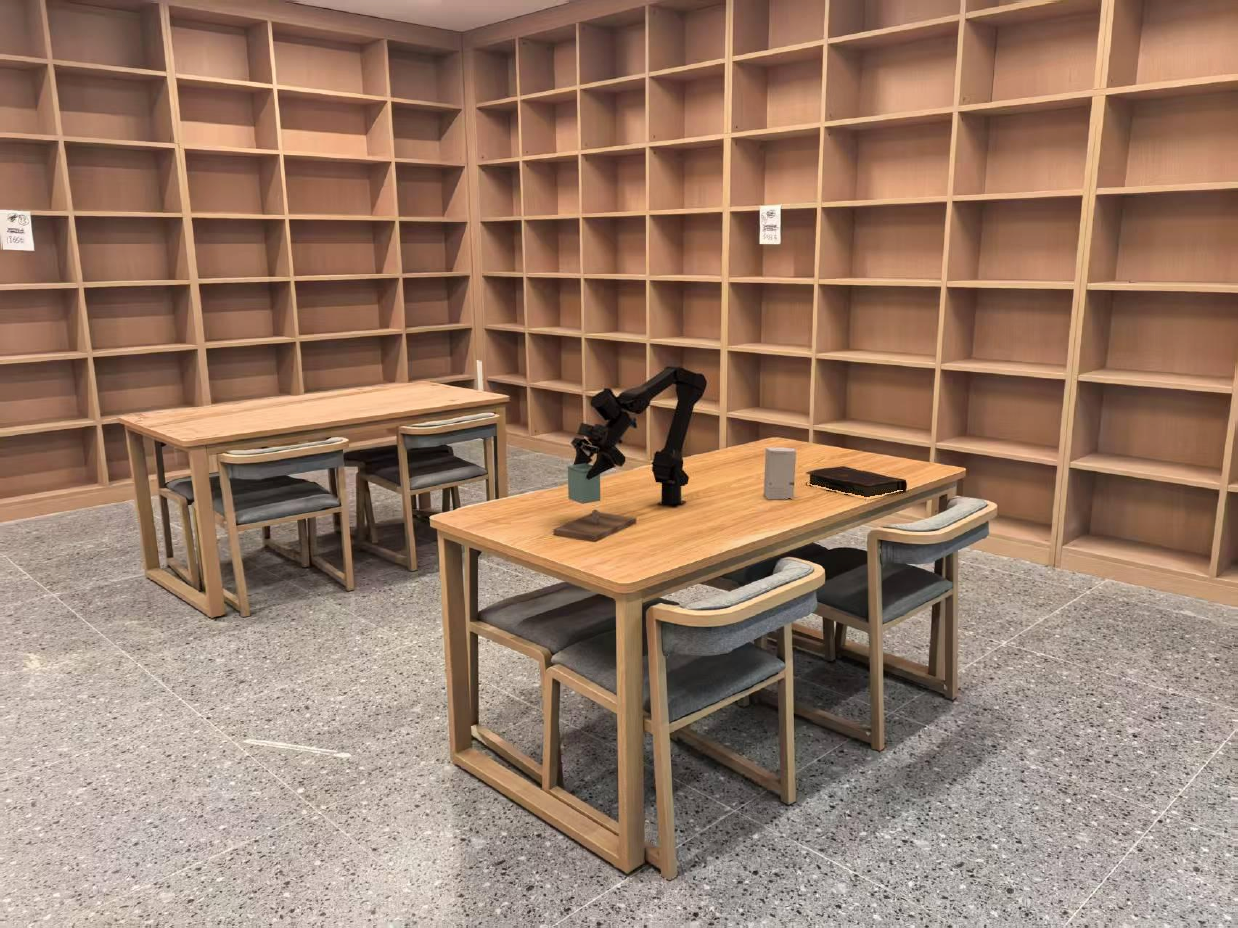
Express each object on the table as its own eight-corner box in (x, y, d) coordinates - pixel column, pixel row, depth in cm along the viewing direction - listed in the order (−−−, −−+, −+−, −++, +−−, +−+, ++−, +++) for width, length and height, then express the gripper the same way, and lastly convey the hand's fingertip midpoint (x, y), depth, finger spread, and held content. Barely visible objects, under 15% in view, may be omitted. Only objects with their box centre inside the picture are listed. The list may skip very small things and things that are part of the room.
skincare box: (766, 500, 273) (768, 450, 270) (763, 495, 279) (764, 446, 276) (795, 499, 274) (796, 450, 271) (790, 494, 280) (792, 446, 277)
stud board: (595, 517, 256) (595, 498, 255) (636, 523, 250) (635, 504, 249) (553, 534, 240) (553, 515, 238) (595, 541, 233) (595, 521, 232)
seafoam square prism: (585, 495, 251) (585, 463, 249) (600, 500, 246) (599, 467, 244) (568, 498, 248) (567, 465, 246) (582, 503, 243) (582, 470, 241)
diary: (843, 479, 302) (844, 464, 301) (906, 494, 282) (907, 478, 281) (803, 486, 292) (803, 471, 291) (865, 502, 271) (866, 485, 270)
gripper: (576, 407, 252) (542, 452, 248) (615, 415, 237) (580, 463, 233) (600, 433, 258) (567, 477, 254) (640, 442, 243) (606, 489, 239)
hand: (579, 476), depth 245 cm, fingers closed on seafoam square prism, 7 cm apart
